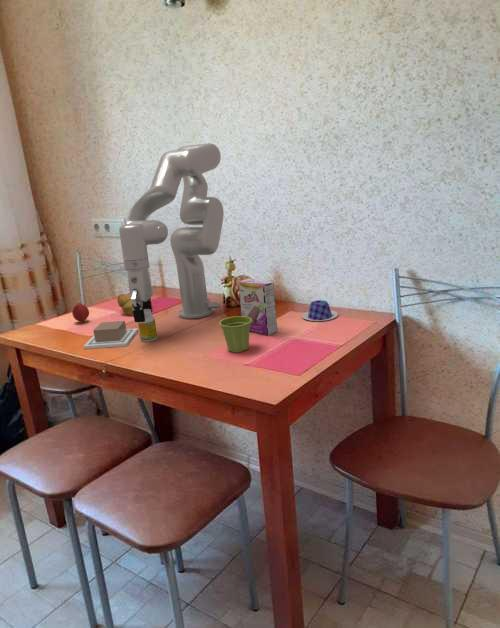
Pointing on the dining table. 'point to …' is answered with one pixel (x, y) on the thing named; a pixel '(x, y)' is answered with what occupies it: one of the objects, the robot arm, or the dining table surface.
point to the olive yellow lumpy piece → (126, 304)
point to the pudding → (319, 311)
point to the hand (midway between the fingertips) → (143, 317)
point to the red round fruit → (80, 312)
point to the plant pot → (236, 332)
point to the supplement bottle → (148, 327)
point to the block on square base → (111, 335)
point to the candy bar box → (258, 305)
